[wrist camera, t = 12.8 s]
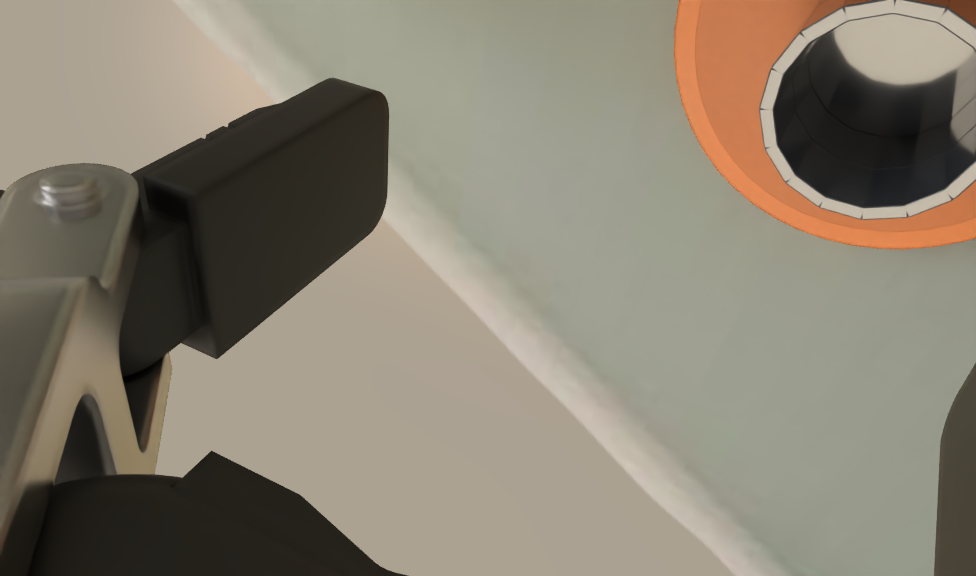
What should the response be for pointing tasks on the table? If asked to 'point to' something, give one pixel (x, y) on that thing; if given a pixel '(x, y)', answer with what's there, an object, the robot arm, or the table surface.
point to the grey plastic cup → (876, 106)
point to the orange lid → (737, 128)
